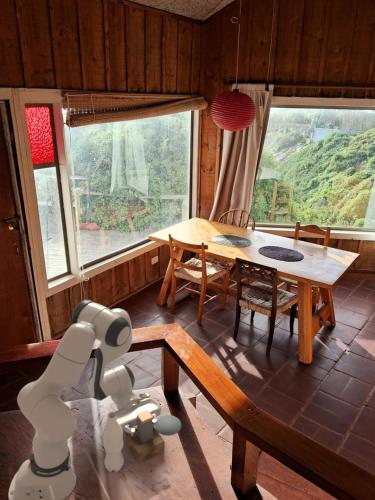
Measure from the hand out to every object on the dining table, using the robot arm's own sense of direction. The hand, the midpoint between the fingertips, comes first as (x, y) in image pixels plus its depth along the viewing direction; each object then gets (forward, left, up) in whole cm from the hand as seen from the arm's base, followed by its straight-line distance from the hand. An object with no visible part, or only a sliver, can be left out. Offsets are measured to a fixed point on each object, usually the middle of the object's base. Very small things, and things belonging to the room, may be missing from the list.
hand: (145, 428), depth 156 cm
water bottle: (-11, -8, -11) cm, 17 cm away
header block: (0, 0, -11) cm, 11 cm away
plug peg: (0, 0, -10) cm, 10 cm away
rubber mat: (+9, +11, -11) cm, 18 cm away
